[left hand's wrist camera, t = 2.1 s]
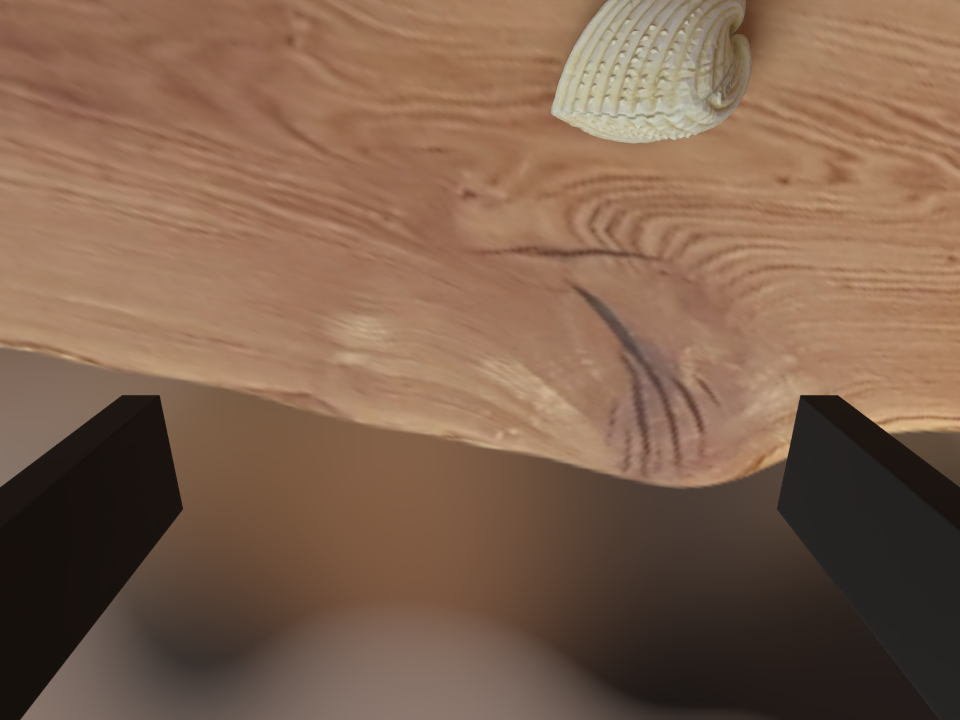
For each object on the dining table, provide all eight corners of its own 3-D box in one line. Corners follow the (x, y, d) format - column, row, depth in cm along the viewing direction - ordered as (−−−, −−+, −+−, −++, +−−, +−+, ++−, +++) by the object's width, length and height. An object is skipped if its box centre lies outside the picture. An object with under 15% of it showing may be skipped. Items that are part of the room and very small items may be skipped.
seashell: (796, 108, 30) (699, 202, 28) (656, 99, 36) (567, 176, 34) (791, -76, 25) (672, 21, 23) (628, -52, 31) (521, 27, 29)
